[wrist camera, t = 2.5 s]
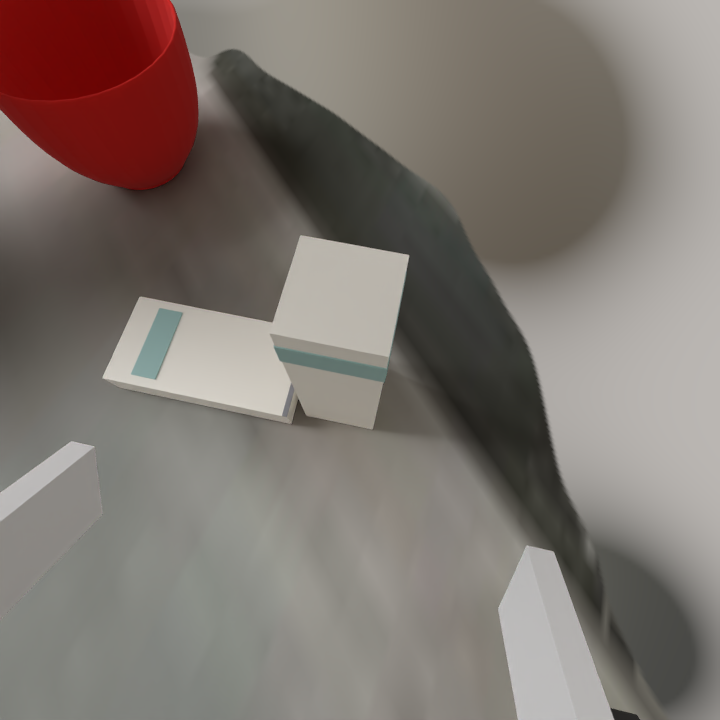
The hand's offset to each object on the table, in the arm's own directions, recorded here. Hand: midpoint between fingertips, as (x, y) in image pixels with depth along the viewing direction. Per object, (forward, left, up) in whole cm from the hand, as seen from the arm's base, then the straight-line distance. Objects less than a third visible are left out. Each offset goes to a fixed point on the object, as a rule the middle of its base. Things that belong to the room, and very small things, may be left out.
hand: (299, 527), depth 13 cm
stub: (-6, +6, -13) cm, 16 cm away
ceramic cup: (-34, +4, -14) cm, 37 cm away
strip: (-13, -1, -13) cm, 19 cm away
